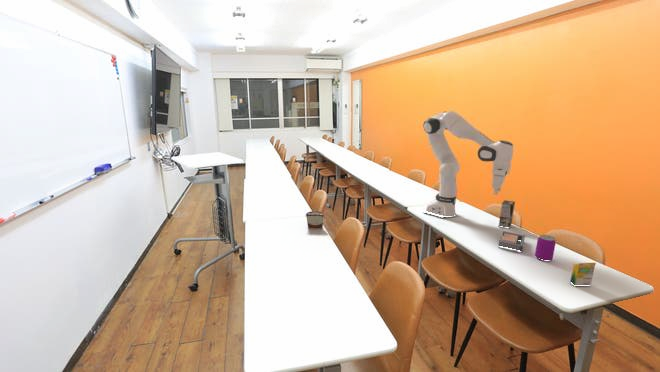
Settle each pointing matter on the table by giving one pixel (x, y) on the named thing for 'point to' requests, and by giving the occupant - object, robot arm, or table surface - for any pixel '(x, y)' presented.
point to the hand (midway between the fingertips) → (497, 192)
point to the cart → (510, 238)
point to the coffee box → (506, 213)
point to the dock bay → (512, 245)
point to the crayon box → (582, 273)
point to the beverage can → (545, 247)
